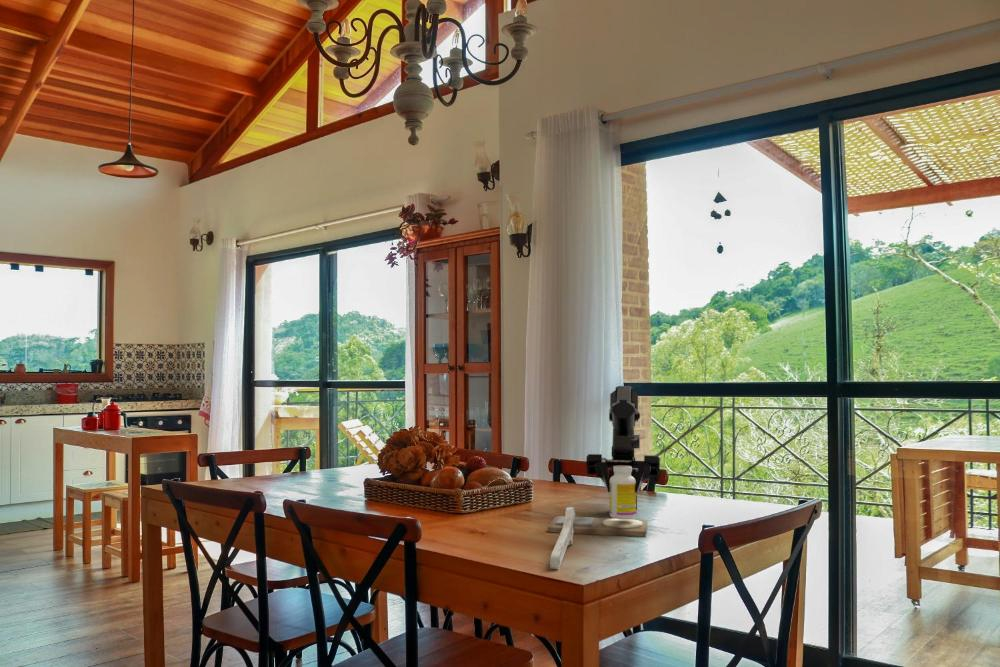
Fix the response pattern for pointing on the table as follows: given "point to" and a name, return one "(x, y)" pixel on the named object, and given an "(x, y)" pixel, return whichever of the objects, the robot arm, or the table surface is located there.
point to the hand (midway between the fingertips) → (622, 491)
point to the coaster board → (602, 526)
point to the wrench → (563, 539)
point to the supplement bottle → (622, 493)
